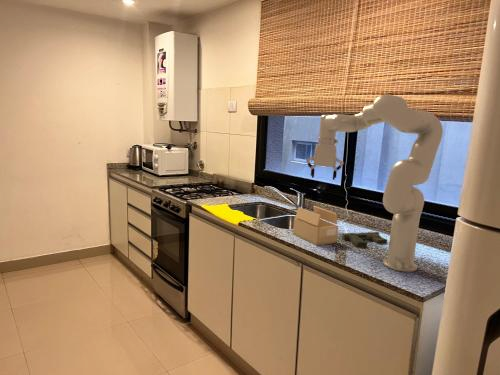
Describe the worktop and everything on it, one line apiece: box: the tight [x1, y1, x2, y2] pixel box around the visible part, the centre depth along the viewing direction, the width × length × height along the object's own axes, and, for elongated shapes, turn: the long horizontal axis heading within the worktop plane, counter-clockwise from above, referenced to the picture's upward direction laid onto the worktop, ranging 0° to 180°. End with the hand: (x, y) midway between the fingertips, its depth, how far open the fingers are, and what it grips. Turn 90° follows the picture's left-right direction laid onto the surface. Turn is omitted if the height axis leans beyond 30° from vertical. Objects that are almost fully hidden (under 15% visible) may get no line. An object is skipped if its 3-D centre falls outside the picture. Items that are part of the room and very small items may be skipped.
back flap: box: [312, 205, 338, 225], centre depth 176 cm, size 16×5×1 cm
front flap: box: [295, 206, 321, 226], centre depth 171 cm, size 16×5×1 cm
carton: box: [292, 216, 339, 246], centre depth 175 cm, size 19×12×8 cm, turn 28°
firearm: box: [341, 231, 388, 248], centre depth 176 cm, size 3×24×15 cm
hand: (323, 178), depth 173 cm, fingers open, 9 cm apart
